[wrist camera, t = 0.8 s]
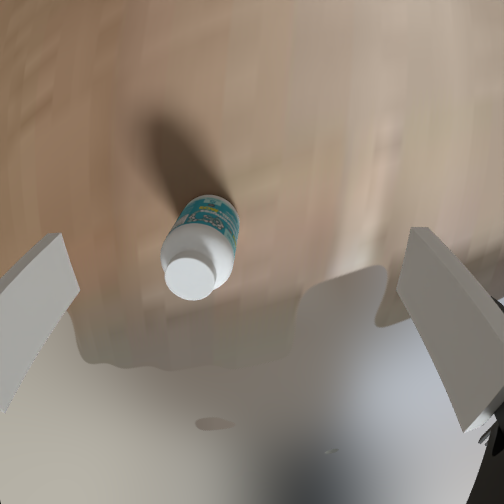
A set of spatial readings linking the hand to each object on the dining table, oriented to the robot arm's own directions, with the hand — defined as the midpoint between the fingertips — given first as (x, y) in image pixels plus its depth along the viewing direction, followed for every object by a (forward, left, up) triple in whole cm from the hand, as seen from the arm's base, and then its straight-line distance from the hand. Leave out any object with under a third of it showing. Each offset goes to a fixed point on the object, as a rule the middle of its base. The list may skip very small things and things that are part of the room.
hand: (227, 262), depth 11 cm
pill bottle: (+9, -7, -27) cm, 29 cm away
